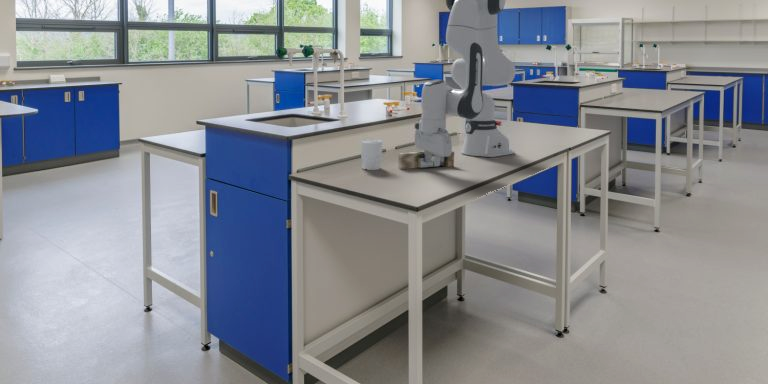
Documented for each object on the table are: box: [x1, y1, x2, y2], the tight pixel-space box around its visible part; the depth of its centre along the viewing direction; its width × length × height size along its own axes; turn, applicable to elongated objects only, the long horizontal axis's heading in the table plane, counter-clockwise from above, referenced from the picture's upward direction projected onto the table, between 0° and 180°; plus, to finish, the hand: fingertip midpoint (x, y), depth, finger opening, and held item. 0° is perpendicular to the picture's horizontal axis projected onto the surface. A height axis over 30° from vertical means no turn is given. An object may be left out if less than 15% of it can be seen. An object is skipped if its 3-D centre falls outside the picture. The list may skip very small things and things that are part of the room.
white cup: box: [360, 139, 383, 171], centre depth 224 cm, size 8×8×10 cm
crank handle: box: [418, 153, 445, 169], centre depth 227 cm, size 11×3×5 cm, turn 119°
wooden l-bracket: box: [397, 150, 455, 170], centre depth 228 cm, size 20×6×6 cm, turn 118°
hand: (432, 164), depth 222 cm, fingers open, 3 cm apart
